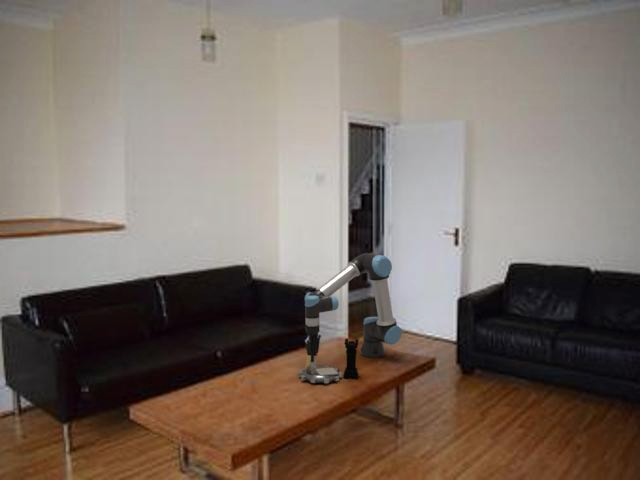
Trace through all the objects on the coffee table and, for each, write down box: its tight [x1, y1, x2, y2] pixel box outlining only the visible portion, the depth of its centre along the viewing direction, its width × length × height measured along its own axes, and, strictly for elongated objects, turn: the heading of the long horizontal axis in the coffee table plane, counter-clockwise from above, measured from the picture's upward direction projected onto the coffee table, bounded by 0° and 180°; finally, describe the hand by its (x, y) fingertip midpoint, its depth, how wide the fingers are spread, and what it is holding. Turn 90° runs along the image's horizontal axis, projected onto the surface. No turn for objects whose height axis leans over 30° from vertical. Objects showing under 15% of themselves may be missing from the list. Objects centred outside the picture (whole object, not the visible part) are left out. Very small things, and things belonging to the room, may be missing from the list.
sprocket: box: [298, 354, 343, 384], centre depth 309 cm, size 23×23×12 cm
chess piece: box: [342, 338, 360, 381], centre depth 312 cm, size 8×8×20 cm
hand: (313, 367), depth 312 cm, fingers closed
